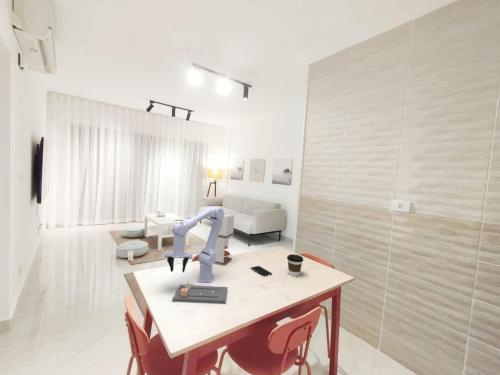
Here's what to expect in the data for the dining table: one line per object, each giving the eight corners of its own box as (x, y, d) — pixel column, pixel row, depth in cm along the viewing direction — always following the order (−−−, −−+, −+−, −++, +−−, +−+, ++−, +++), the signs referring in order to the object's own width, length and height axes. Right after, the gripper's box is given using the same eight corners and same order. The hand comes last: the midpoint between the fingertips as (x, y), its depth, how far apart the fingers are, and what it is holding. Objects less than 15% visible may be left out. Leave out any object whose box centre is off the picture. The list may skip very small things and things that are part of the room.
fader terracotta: (182, 293, 116) (182, 287, 116) (188, 293, 116) (188, 288, 116) (180, 296, 113) (180, 290, 113) (186, 296, 113) (186, 291, 113)
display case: (224, 265, 159) (227, 216, 158) (211, 263, 163) (213, 214, 161) (231, 260, 170) (234, 214, 168) (218, 258, 174) (221, 212, 172)
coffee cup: (295, 279, 144) (296, 261, 144) (282, 273, 153) (283, 255, 152) (305, 275, 152) (307, 257, 151) (292, 269, 160) (293, 253, 159)
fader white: (186, 285, 124) (186, 280, 124) (191, 286, 124) (191, 281, 124) (184, 288, 121) (185, 283, 121) (190, 288, 121) (190, 283, 121)
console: (180, 287, 125) (180, 284, 125) (227, 289, 126) (227, 286, 126) (172, 301, 111) (172, 298, 111) (225, 303, 112) (225, 300, 112)
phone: (263, 276, 145) (249, 267, 157) (263, 277, 145) (249, 269, 157) (273, 273, 150) (258, 265, 162) (272, 275, 150) (258, 267, 162)
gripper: (162, 247, 117) (161, 273, 117) (190, 249, 117) (189, 275, 118) (167, 243, 124) (166, 268, 125) (193, 245, 124) (192, 269, 125)
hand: (177, 271), depth 122 cm, fingers open, 5 cm apart
